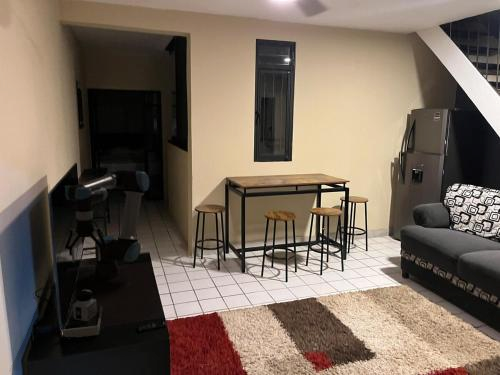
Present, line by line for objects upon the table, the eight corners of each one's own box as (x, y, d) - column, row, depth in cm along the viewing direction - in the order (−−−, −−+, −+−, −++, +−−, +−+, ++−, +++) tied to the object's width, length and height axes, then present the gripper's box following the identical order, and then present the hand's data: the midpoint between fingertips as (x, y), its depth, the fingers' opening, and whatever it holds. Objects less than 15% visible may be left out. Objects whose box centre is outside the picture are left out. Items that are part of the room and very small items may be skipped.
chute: (70, 311, 194) (70, 304, 193) (102, 308, 198) (102, 301, 197) (62, 339, 171) (61, 330, 170) (98, 334, 175) (98, 326, 175)
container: (87, 321, 186) (86, 296, 183) (73, 319, 187) (71, 294, 185) (97, 313, 193) (96, 289, 191) (83, 311, 195) (81, 287, 192)
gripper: (56, 221, 186) (59, 265, 190) (109, 219, 192) (111, 261, 197) (59, 217, 193) (61, 259, 197) (110, 215, 200) (111, 256, 204)
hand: (86, 260), depth 197 cm, fingers open, 11 cm apart
